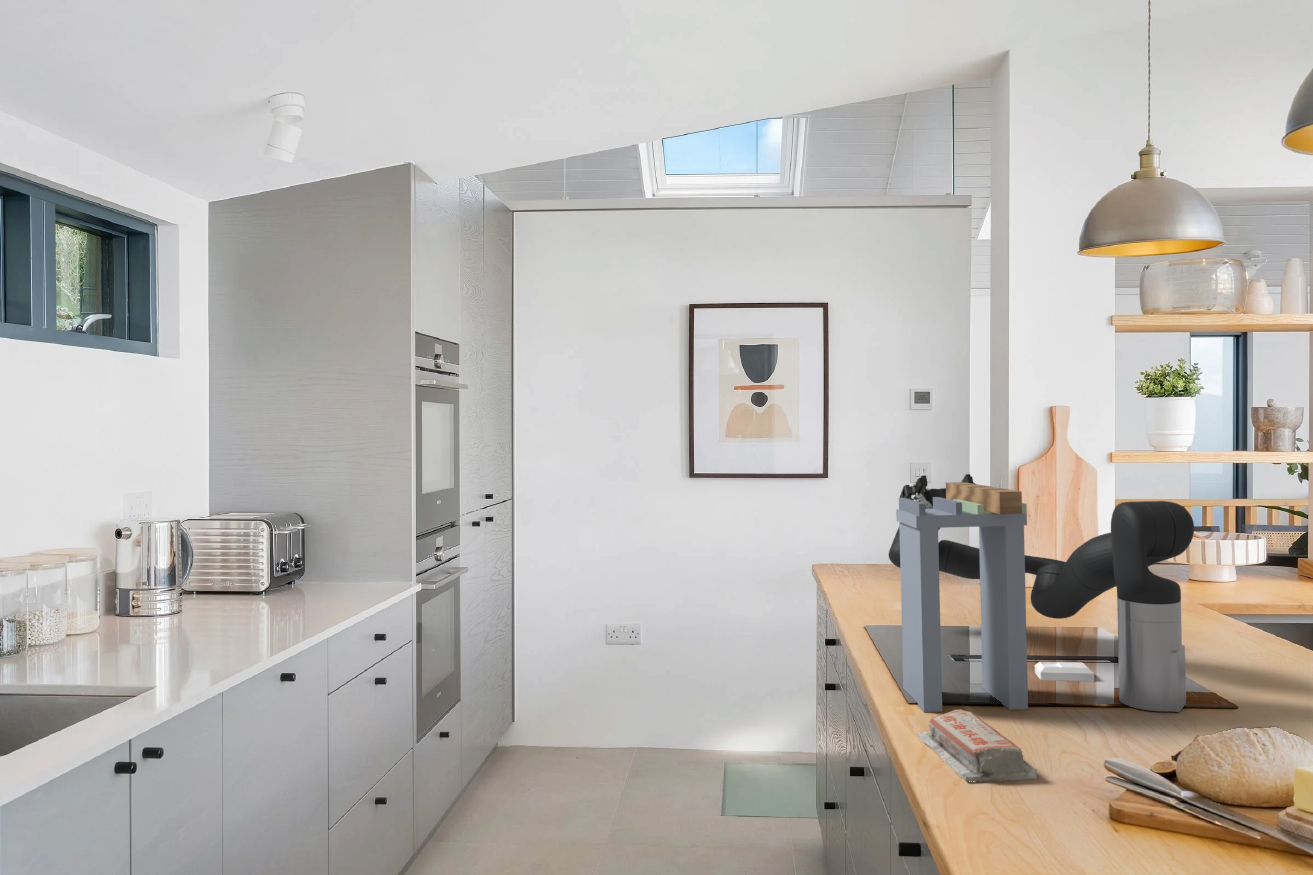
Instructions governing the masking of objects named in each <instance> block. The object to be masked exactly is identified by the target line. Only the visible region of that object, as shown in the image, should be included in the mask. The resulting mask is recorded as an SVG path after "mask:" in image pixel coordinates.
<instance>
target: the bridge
mask: <svg viewBox="0 0 1313 875" xmlns="http://www.w3.org/2000/svg"><path fill="white" fill-rule="evenodd" d="M1027 506H1028V505H1027V503H1024V502H1022V514H997V513H993V512H989V511H984V505H981V504H977V503H972V502H968V501H964V500H959V499H953V500H949V499H945V498H940V497H933V509H925V503H922V502H918V501H914V500H910V499H907V498H900V497H899V498H898V509H896V510H895V515H896V516H895V517H896V518H895V519H896V522H898V524H899V526H898V528H899V530H900V568H899V570H900V608H901V609H900V610H901V611H900V612H901V613H900V614H901V643H902V644H901V649H902V651H901V652H902V655H901V656H902V687H903V688H904V689H905V690H906V691H907V692H908V693H909V694H910V695H911V696H912V697H913V698H914V699H915V700H916V701H917V703H918V706H917V707H918V708H919V709H921V711H922V712H923V713H942V712H943V685H942V683H943V679H942V643H941V642H942V641H941V640H942V639H941V635H942V634H941V633H942V632H941V602H940V601H941V600H940V597H941V596H940V595H941V594H940V592H941V591H940V571H939V546H938V543H939V531H938V528H940V529H943V528H974V527H975V528H976V527H977V528H978V542H979V544H978V545H979V546H978V548H979V553H980V579H979V580H980V581H979V587H980V592H979V593H980V594H979V595H980V628H981V629H980V630H981V632H980V635H981V639H980V640H981V673H982V674H981V676H982V677H981V678H982V689H983V688H984V689H985V690H986V691H987V692H988V693H987V692H986V691H985V690H984V689H983V690H984V691H985V692H986V693H987V694H989V693H990V694H991V695H992V698H994V697H995V698H996V699H997V700H996V699H995V698H994V699H995V700H996V701H998V700H999V701H1001V702H1002V703H1001V704H1002V705H1003V706H1004V707H1005V708H1006V709H1008V710H1009V711H1017V710H1020V711H1021V710H1022V711H1023V710H1029V694H1028V692H1029V691H1028V690H1029V689H1028V687H1029V686H1028V647H1027V642H1028V640H1027V603H1026V600H1027V597H1026V573H1025V555H1026V554H1025V550H1026V549H1025V526H1028V518H1027V517H1028V513H1027V511H1028V508H1027ZM903 688H902V689H903ZM990 694H989V695H990ZM991 695H990V696H991ZM999 701H998V702H999Z"/></svg>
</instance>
